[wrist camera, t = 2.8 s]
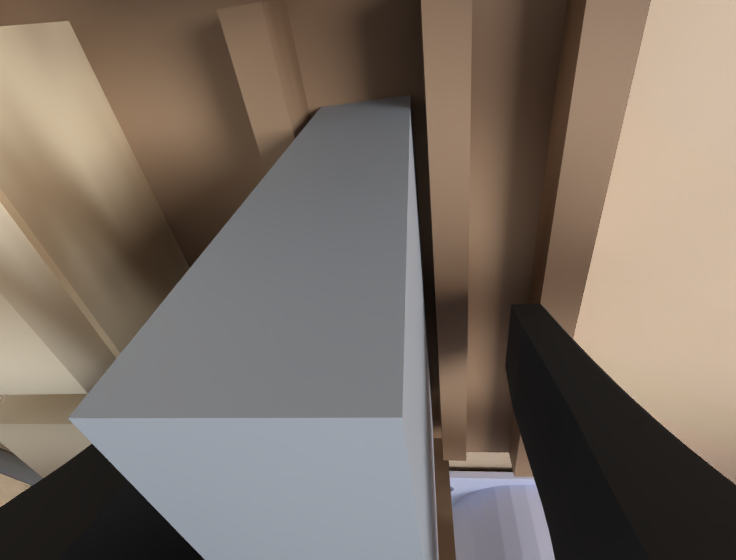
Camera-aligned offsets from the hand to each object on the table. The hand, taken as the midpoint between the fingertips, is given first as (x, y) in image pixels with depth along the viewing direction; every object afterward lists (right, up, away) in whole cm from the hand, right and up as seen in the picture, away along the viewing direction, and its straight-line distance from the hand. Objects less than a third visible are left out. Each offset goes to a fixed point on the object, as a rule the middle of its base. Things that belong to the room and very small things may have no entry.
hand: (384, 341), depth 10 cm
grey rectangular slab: (0, +1, +2) cm, 2 cm away
